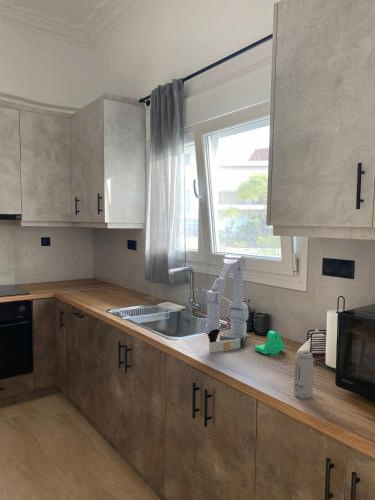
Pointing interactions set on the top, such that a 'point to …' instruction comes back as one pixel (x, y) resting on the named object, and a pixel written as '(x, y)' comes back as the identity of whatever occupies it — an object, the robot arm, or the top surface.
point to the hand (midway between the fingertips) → (212, 345)
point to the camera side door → (224, 345)
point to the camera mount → (271, 344)
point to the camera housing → (232, 338)
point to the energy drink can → (303, 375)
